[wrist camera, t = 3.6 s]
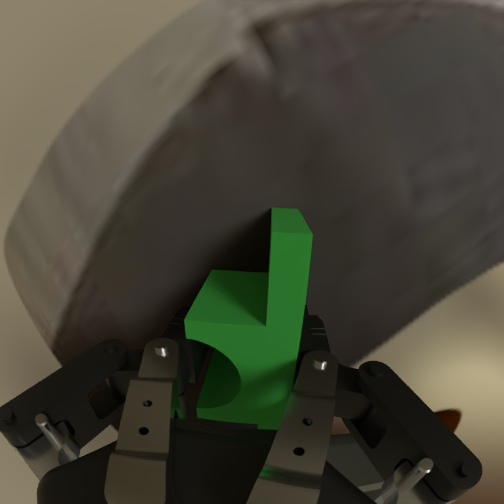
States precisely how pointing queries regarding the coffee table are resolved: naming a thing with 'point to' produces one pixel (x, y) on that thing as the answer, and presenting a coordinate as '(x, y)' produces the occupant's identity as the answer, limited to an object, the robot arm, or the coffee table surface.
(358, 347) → the coffee table surface
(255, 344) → the pipe clamp
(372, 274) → the coffee table surface
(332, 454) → the bin
